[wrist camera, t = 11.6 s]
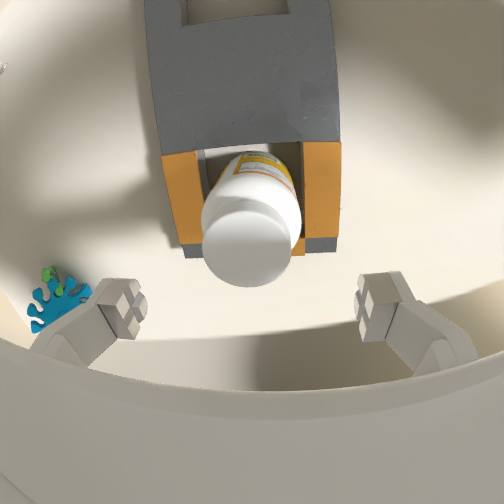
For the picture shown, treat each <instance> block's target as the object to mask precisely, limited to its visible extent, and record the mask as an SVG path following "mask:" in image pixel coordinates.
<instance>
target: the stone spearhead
mask: <svg viewBox="0 0 504 504" xmlns="http://www.w3.org/2000/svg"><path fill="white" fill-rule="evenodd" d="M6 67H7V64H6V63H3V64H2V61H1V62H0V74H1V73H2V72H3V71H4V70H5V69H6Z"/></svg>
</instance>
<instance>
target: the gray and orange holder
mask: <svg viewBox="0 0 504 504" xmlns="http://www.w3.org/2000/svg"><path fill="white" fill-rule="evenodd" d="M286 1H287V8H288V14H273V15H257V16H245V17H236V18H229V19H222V20H215V21H210V22H204V23H199V24H194V25H190V26H189V20H188V9H187V0H144V5H145V24H146V38H147V49H148V60H149V69H150V78H151V86H152V93H153V101H154V108H155V114H156V121H157V127H158V133H159V139H160V145H161V151H162V156H161V160H162V165H163V170H164V175H165V180H166V185H167V190H168V195H169V199H170V204H171V208H172V213H173V217H174V221H175V225H176V229H177V234H178V238H179V242H180V244H182V247H183V251H184V255H185V258H204V257H203V252H202V242H203V237H204V235H203V231H202V227H201V214H202V209H203V206H204V204H205V201H206V199H207V197H208V195H209V193H210V187H209V180H208V174H207V167H206V161H205V154H204V149H210V148H218V147H227V146H238V145H249V144H263V143H281V142H300V158H301V188H302V224H301V231H300V235H299V238H298V240H297V242H296V244H295V246H294V247H293V248H292V250H291V256H304V255H305V253H323V252H336V246H337V237H338V232H339V216H340V195H341V142H340V113H339V92H338V77H337V65H336V54H335V45H334V36H333V29H332V21H331V14H330V8H329V2H328V0H286Z"/></svg>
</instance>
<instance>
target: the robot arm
mask: <svg viewBox="0 0 504 504" xmlns="http://www.w3.org/2000/svg"><path fill="white" fill-rule="evenodd" d="M357 284H358V287H359V290H358V291H357V292H356V293H355V300H354V309H355V315H356V319H358V320H359V321H360V325H359V330H360V334H361V338H362V342H371V341H383V340H385V342H386V343H387V344H388V345H389V346H390V347H391V348H392V349H393V350H394V352H396V354H397V355H398V356H400V358H401V359H402V360H403V361H404V362H405V363H406V364H407V365H408V366H409V367H410V368H411V369H412V370H413V371H414V372H415V373H414V374H413V376H412V377H411V378H407V379H402V380H396V381H391V382H385V383H378V384H372V385H364V386H356V387H347V388H337V389H326V390H312V391H285V392H254V391H253V392H251V391H228V390H227V391H226V390H213V389H201V388H192V387H183V386H175V385H167V384H161V383H154V382H148V381H142V380H136V379H132V378H127V377H122V376H117V375H113V374H108V373H104V372H100V371H96V370H92V369H89V368H88V366H89V365H90V364H91V363H92V362H93V361H94V360H95V359H96V358H97V357H99V356H100V355H101V353H103V352H104V351H105V350H106V349H107V348H108V347H109V346H110V345H112V344H113V343H114V342H115V341H116V340H117V338H120V339H130V340H135V338H136V336H137V334H138V331H139V329H140V325H139V323H140V322H141V321H142V320H144V319H145V317H146V314H147V307H148V306H147V301H146V298H145V296H144V295H143V294H142V293H141V292H140V289H141V286H140V284H139V282H138V280H136V279H125V278H105V279H102V281H101V282H100V283H99V285H98V286H97V287H96V289H95V290H94V292H93V293H92V294H91V296H90V297H89V299H88V300H87V301H86V303H82V304H80V305H79V306H77V307H76V308H74V309H73V310H71V311H69V312H68V313H66V314H65V315H63V316H62V317H60V318H59V319H57V320H56V321H54V322H53V323H51V324H50V325H48V326H47V327H45V328H44V329H42V330H41V332H40V333H39V335H38V336H37V338H36V339H35V341H34V343H33V344H32V346H31V347H30V349H26V348H24V347H21V346H19V345H16V344H14V343H11V342H9V341H7V340H4V339H2V338H0V504H504V351H501V352H499V353H496V354H493V355H491V356H488V357H485V358H482V359H480V358H479V356H478V354H477V352H476V349H475V347H474V345H473V343H472V341H471V339H470V337H469V335H468V334H467V332H465V331H464V330H463V329H461V328H460V327H458V326H457V325H455V324H454V323H453V322H451V321H450V320H448V319H447V318H445V317H444V316H442V315H441V314H439V313H438V312H436V311H435V310H434V309H432V308H431V307H429V306H428V305H426V304H425V303H423V302H422V301H420V300H416V299H415V297H414V296H413V294H412V292H411V290H410V288H409V286H408V284H407V282H406V281H405V279H404V277H403V275H402V273H401V272H400V271H391V272H385V273H369V274H360V275H359V278H358V283H357Z"/></svg>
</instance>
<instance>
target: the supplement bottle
mask: <svg viewBox="0 0 504 504" xmlns="http://www.w3.org/2000/svg"><path fill="white" fill-rule="evenodd" d="M201 227H202V231H203V235H204V237H203V242H202V252H203V257H204V260H205V262H206V264H207V266H208V267H209V269H210V270H211V271H212V272H213V273H214V274H215V275H216V276H217V277H218V278H220V279H221V280H223V281H225V282H227V283H229V284H232V285H235V286H239V287H257V286H262V285H265V284H268V283H270V282H272V281H274V280H275V279H277V278H278V277H279V276H280V275H281V274H282V273H283V272H284V271H285V269H286V268H287V266H288V264H289V262H290V258H291V250H292V248H293V247H294V246H295V244H296V242H297V240H298V238H299V235H300V231H301V213H300V208H299V204H298V201H297V197H296V193H295V189H294V185H293V182H292V178H291V175H290V173H289V170H288V168H287V167H286V166H285V164H284V163H283V162H282V161H281V160H280V159H278V158H277V157H275V156H274V155H272V154H269V153H266V152H262V151H250V152H245V153H242V154H240V155H238V156H236V157H235V158H233V159H232V160H231V161H230V162H229V163H228V164H227V166H226V167H225V169H224V170H223V172H222V174H221V175H220V177H219V178H218V180H217V182H216V183H215V185H214V187H213V188H212V190H211V192H210V193H209V195H208V197H207V199H206V201H205V204H204V206H203V209H202V214H201Z"/></svg>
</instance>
